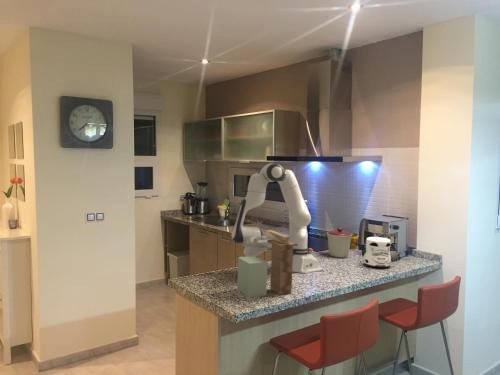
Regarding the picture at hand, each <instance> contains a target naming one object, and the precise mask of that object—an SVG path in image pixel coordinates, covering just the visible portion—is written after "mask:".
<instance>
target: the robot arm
mask: <svg viewBox="0 0 500 375" xmlns="http://www.w3.org/2000/svg"><path fill="white" fill-rule="evenodd" d="M274 182H277V183H278V184H279V186H280V187H279V188H280V190H281V193H282V197H283V199H284V202H285V204H286V206H287V208H288V211H289V212H288V224H289V227H288V228H289V237H290V241H291V242H293V243H296V244H297V246H293V267H292V273H300V274H301V273H302V274H309V273H315V272H319V271H322V269H323V268H322V267H321V266H319V262H318V258H316V257H315V256H313V255H312V254H311V253H310V252H313V251H314V250H313V248H311V247H310V248H309V247H308V242H309V241H308V238H309V236H308V230H307V229H308V228H307V227H308V226H309V225H310V223H311V221H312V216H311V213H310V211H309V207H308V206H307V204H306V201H305V199H304V197H303V194H302V192H301V188H300V186H299V183H298V180H297V178H296V176H295V174H294V172H293V171H292V170H291V169H285V168H284V167H283V166H282V165H280V164H279V163H275V162H274V163H268V164H264V165H263V166H262V167H261V168H260V170H259V171H258V172H257V173H253V174H252V175H251V176H250V177H249V182H248V186H247V193H246V196H245V197H244V199H242V200H241V202H239V203H240V204H239V207H238V209H237V210H238V211H237V213H236V218H235V222H234V224H233V227H232V231H231V233H230V234H231V237H230V238H231V240H232V241H233V242H234V243H236V244H243V246H244V249H243V253H244V257H247V256H257V257H258V256H259V255H261V254H262V253H264V252H266V251H270V250H271V251H272V244H271V243H269V242H267V240H273V239H271V238H268V237H266V236H264V235H263V234H264V233H263V232H262V230H261V229H260V228H259V227H257V226H244V222H245V218H246V215H247V212H248V211H249V210H251V209H254V208H255V209H256V208H258V207H260V206H261V205H262V204H264V202H265V199H266V195H267V194H266V193H267V186H268V184H269V183H274Z"/></svg>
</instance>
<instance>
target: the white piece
mask: <svg viewBox="0 0 500 375" xmlns="http://www.w3.org/2000/svg"><path fill="white" fill-rule="evenodd" d="M391 244H392V242H391V238H390V239H389V238H386V237H380V236H379V237H378V236H369V237H366V239H365V251H364V254H363V262H364V264H365V265H367V266H369V267H372V268H380V269H381V268H388V267H389V266H391V264H392V263H391V262H392V261H391V255H390V247H391Z"/></svg>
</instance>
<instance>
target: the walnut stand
mask: <svg viewBox="0 0 500 375" xmlns="http://www.w3.org/2000/svg"><path fill="white" fill-rule="evenodd" d="M267 242H269V243H271V244H272V249H271V263H270V265H271V266H270V285H269V286H270V291H272V292H274V293H276V294H277V295H278V296H281V295H282V296H283V295H290V294H292V287H293V272H292V267H293V246H297V244H296V243H293V242H291V241H290V244H283V243H281V242H278V241H276V240H267Z"/></svg>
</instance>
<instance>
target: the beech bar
mask: <svg viewBox="0 0 500 375" xmlns="http://www.w3.org/2000/svg"><path fill="white" fill-rule="evenodd" d="M265 233H266V234H265V237H268V238H271V239H273V240H276V241H278V242H281V243H283V244H290V235H286V234H283V233H280V232H278V231H274V230H272V229H270V230H269V229H267V230H266V232H265Z"/></svg>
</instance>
